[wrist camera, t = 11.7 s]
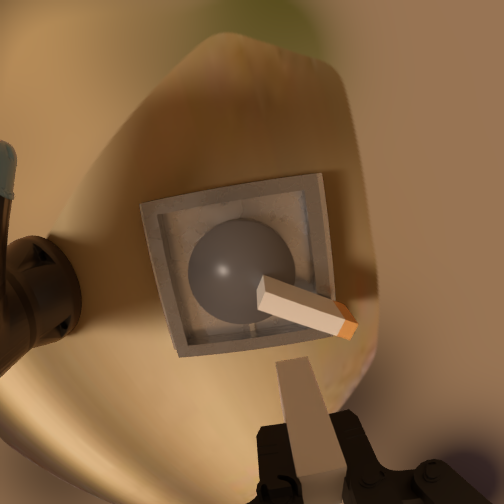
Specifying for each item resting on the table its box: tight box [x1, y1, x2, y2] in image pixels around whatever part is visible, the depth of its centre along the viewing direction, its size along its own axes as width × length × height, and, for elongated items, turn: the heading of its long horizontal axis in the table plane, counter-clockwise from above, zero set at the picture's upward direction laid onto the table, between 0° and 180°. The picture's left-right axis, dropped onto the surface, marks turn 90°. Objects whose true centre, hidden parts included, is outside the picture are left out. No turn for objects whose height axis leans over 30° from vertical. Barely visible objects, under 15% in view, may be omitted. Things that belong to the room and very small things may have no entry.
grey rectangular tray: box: [139, 173, 336, 358], centre depth 33 cm, size 20×18×3 cm
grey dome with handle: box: [188, 218, 358, 340], centre depth 30 cm, size 17×11×7 cm, turn 69°
